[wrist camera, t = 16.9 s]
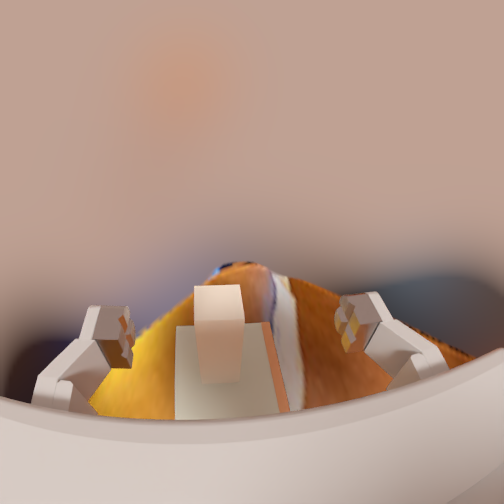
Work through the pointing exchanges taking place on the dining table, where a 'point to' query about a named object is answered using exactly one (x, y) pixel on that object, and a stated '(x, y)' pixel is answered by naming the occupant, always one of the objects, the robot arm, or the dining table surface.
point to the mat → (230, 394)
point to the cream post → (219, 332)
